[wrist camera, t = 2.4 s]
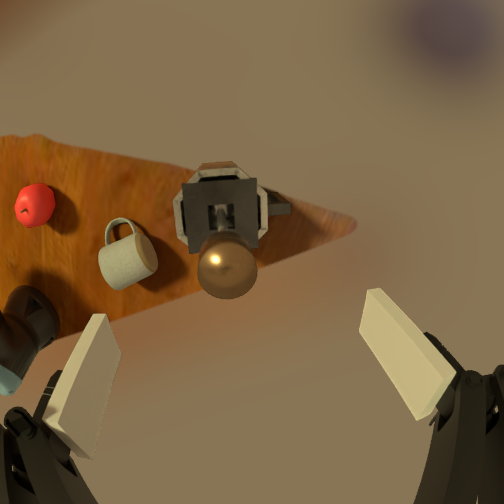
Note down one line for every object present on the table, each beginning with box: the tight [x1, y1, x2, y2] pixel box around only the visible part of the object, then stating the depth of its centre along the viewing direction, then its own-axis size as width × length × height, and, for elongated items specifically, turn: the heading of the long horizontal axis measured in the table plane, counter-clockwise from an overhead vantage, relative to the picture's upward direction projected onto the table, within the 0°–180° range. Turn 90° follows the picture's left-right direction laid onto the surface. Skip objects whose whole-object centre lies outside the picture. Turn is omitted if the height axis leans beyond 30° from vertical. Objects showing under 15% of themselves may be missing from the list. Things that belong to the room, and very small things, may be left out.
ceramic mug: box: [98, 218, 158, 290], centre depth 41 cm, size 11×8×8 cm
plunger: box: [197, 203, 257, 299], centre depth 26 cm, size 8×8×18 cm
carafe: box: [173, 161, 291, 254], centre depth 38 cm, size 14×11×13 cm
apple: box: [15, 183, 56, 228], centre depth 35 cm, size 8×8×8 cm
